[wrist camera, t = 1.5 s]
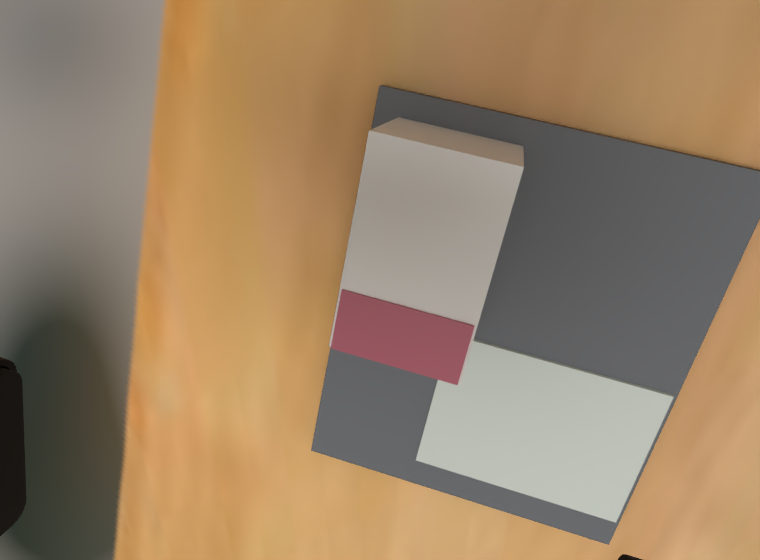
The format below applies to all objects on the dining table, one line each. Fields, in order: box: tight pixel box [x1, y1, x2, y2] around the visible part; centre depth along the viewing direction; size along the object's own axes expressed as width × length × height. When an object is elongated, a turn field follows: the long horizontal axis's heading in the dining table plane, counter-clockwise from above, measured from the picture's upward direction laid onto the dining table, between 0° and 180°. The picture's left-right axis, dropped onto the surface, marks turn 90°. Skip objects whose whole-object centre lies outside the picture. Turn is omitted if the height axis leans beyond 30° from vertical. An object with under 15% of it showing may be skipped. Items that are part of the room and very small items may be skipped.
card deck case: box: [329, 117, 524, 385], centre depth 22 cm, size 8×5×5 cm, turn 168°
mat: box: [311, 85, 760, 545], centre depth 26 cm, size 18×15×1 cm
